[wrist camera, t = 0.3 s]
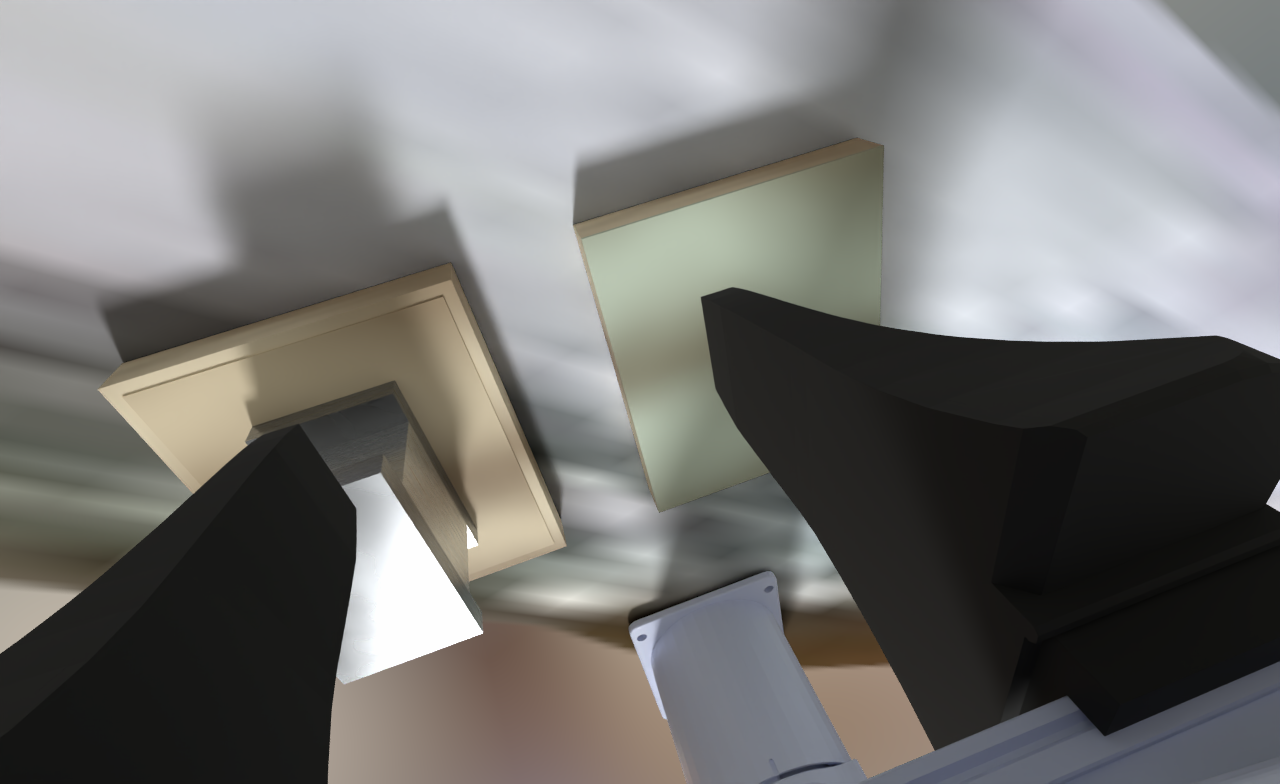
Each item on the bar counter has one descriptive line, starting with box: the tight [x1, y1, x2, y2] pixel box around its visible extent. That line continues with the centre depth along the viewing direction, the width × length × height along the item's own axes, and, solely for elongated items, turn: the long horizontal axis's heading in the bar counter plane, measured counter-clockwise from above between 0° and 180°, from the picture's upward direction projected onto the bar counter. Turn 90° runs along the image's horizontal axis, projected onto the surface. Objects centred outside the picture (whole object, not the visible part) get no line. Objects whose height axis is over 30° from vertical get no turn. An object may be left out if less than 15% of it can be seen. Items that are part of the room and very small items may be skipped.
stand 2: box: [573, 138, 884, 513], centre depth 22 cm, size 12×10×2 cm
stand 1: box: [98, 263, 567, 581], centre depth 21 cm, size 12×10×2 cm
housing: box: [245, 380, 483, 684], centre depth 18 cm, size 7×4×5 cm, turn 11°
